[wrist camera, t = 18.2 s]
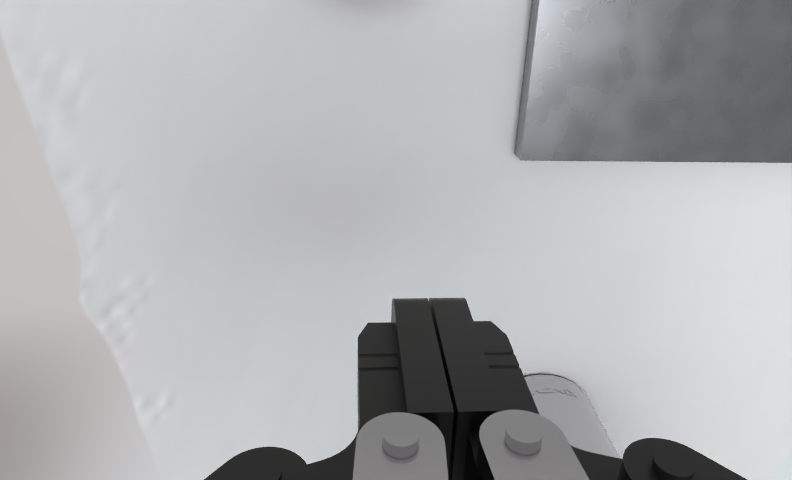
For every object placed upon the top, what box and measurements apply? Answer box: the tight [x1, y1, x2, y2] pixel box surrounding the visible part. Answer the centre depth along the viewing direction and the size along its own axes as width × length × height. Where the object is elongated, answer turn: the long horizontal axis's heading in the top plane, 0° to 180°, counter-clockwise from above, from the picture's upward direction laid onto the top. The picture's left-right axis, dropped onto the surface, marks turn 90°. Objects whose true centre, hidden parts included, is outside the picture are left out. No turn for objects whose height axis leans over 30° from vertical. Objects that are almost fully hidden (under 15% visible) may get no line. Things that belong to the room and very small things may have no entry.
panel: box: [515, 0, 792, 163], centre depth 35 cm, size 18×20×3 cm
